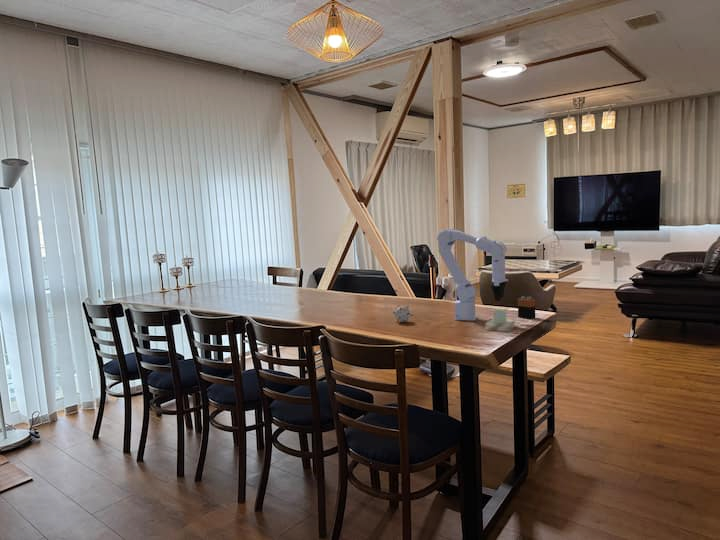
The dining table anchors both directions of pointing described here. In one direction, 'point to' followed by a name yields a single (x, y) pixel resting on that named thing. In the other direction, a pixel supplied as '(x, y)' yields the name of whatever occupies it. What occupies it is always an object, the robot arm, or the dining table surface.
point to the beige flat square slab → (500, 325)
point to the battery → (526, 307)
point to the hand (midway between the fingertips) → (499, 299)
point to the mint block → (500, 316)
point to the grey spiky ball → (402, 314)
